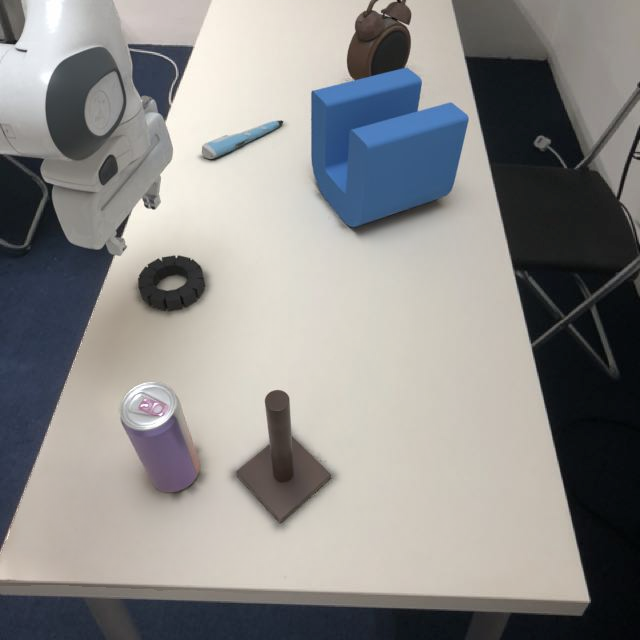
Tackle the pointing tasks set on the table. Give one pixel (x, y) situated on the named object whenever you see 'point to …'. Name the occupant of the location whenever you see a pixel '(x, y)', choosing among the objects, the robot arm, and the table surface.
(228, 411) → the table surface
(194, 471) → the beverage can
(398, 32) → the alarm clock
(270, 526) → the table surface
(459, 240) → the table surface
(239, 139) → the pen
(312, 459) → the post
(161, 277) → the ring
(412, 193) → the block
